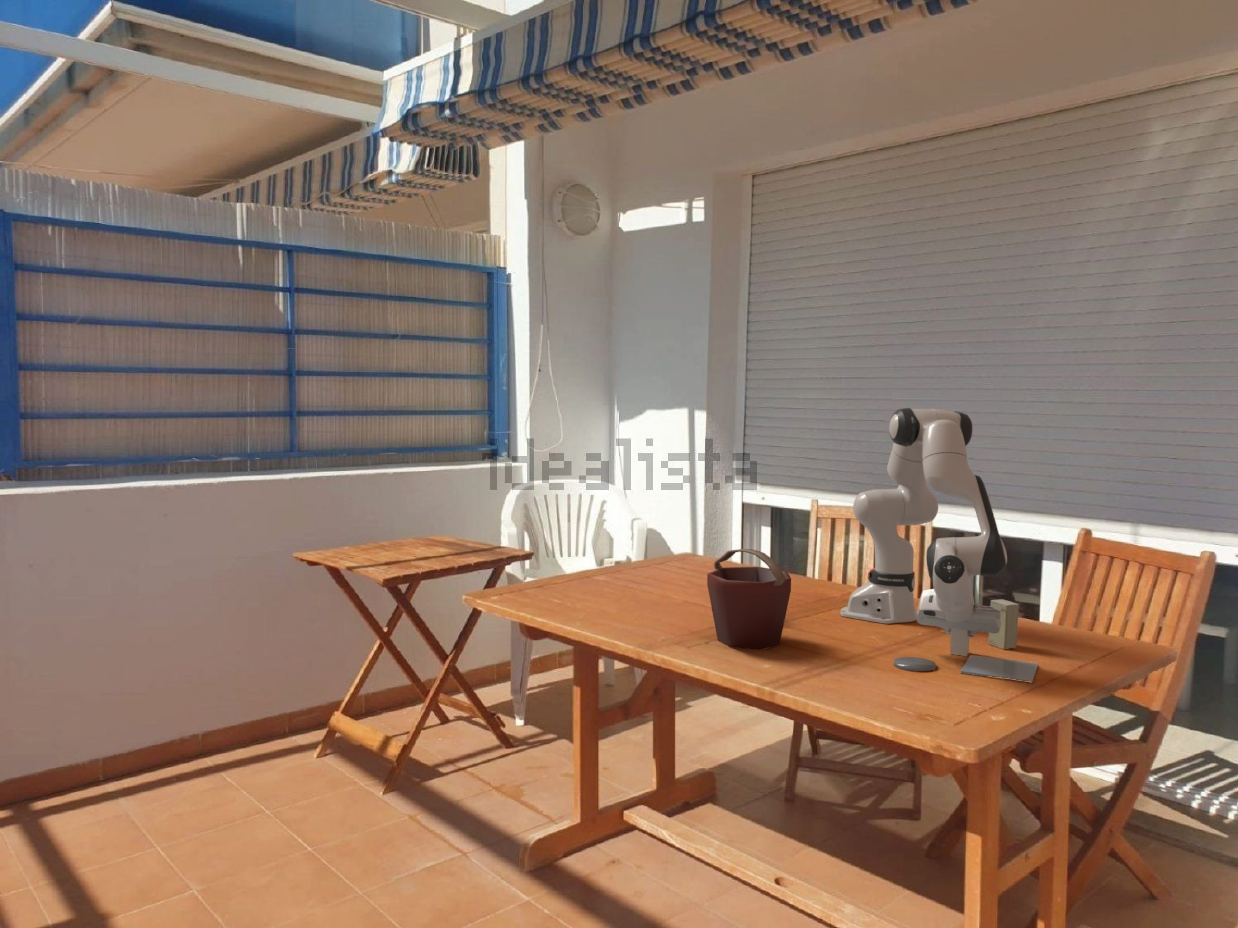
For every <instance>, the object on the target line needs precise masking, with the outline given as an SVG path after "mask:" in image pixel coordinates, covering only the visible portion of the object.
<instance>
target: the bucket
mask: <svg viewBox="0 0 1238 928" xmlns="http://www.w3.org/2000/svg"><path fill="white" fill-rule="evenodd" d="M741 552H742V553H747V554H751V555H754V556H755V557H757V558H759V560H761V561H762V562H763V563H764V564H765V565H766V566H767V567H763V566H739V567H737V566H735V567H733V566H730V567H727V566H726V567H725V566H724V567H723V566H722V565H721V563H723V562H726V561H728V560H729V559H730V558H732V557H733V556H734V555H735V554H736V553H741ZM713 566H714V567H713V568H714V569H715V570H713V571H711V572H708V573H707V575H706V576H707V578H706V579H707V582H706V585H707V591H708V595H709V600H710V602H709V603H710V606H711V613H712V617H713V622H714V628H715V633H716V639H717V641H718V642H719V643H721V644H723V645H724V646H727V647H729V648H732V649H740V648H741V650H752V651H753V650H754V651H761V650H766V649H771V648H775V647H780V644H781V641H782V640H781V639H782V635H783V630H784V627H785V626H784V625H785V620H786V615H787V611H788V606H789V600H790V597H791V591H792V578H791V576H790V573H789V571H786V570H782V569H781V567H780V566H779V564H778V563H777V562H775V560H774V559H772V558H771V557H770V556H769V555H768V554H766V553H765V552H762V551H759V550H757V549H752V548H740V549H730V550H727V551H726V552H724V554H722V555H721V556H719V558H717V559H716V560H715V561H714V563H713ZM765 648H766V649H765Z"/></svg>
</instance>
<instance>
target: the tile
mask: <svg viewBox="0 0 1238 928" xmlns="http://www.w3.org/2000/svg"><path fill="white" fill-rule="evenodd" d="M1037 667H1038V668H1039V663H1037V662H1028V661H1020V660H1015V659H1014V660H1013V659H1006V658H998V657H993V656H992V657H991V656H990V657H989V656H985V655H984V656H983V655H982V656H981V655H975V654H970V655H969V657H968V658H967V660H966V661H965V663H964V665H963V666H962V668H961V669H960V671H959V672H961V673H966V674H965V675H968V673H969V674H974V675H973V676H975V675H981V676H980V677H982V676H992V677H1002V678H1010V679H1016V680H1022V681H1031V682H1032V681H1033V682H1034V680H1033V679H1035V677H1036V674H1037V671H1038V668H1037ZM1036 670H1037V671H1036ZM961 673H960V674H961ZM1035 673H1036V674H1035ZM1034 676H1035V677H1034Z"/></svg>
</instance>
